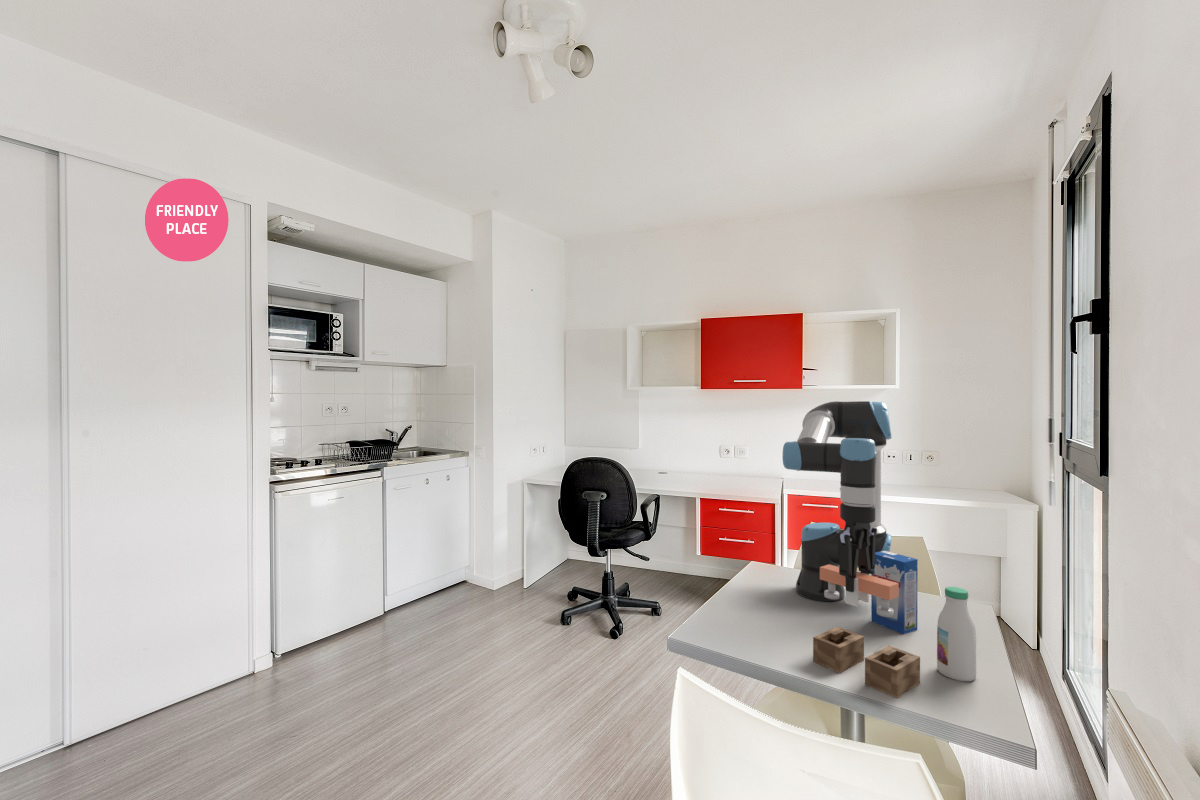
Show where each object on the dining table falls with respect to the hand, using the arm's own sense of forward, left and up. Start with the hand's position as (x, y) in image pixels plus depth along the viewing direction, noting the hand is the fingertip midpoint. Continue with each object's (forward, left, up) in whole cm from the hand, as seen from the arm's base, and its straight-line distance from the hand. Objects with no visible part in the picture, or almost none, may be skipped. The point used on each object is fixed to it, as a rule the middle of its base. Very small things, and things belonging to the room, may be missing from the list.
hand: (857, 602), depth 126 cm
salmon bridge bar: (0, 0, -1) cm, 1 cm away
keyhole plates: (-2, +1, -17) cm, 17 cm away
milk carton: (-35, -8, -17) cm, 40 cm away
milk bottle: (-19, +14, -17) cm, 29 cm away
